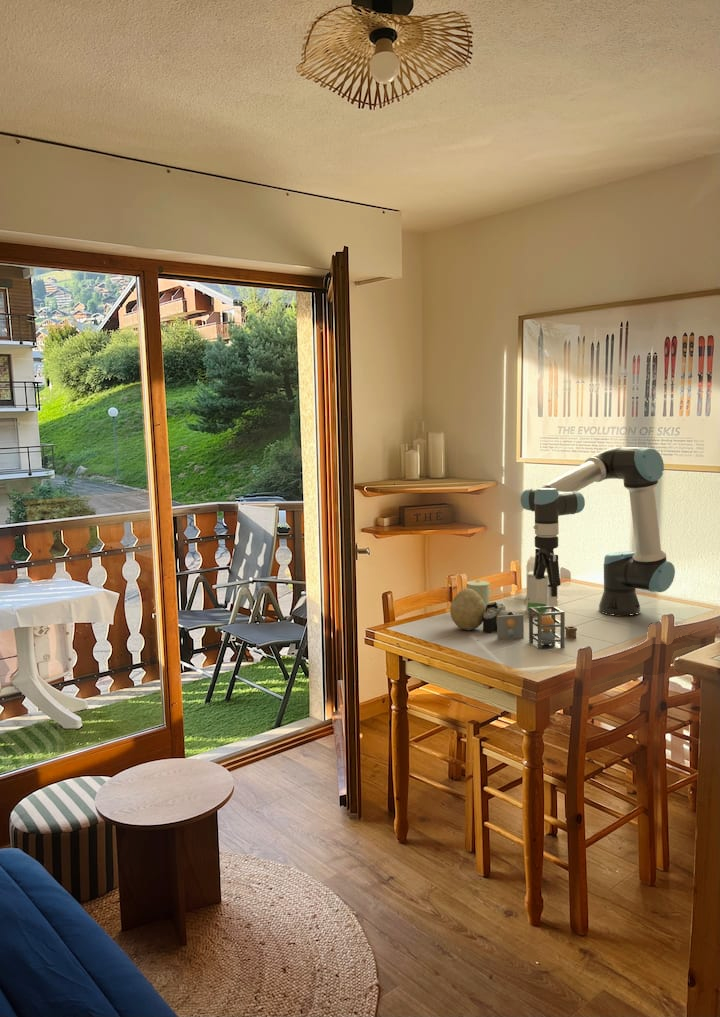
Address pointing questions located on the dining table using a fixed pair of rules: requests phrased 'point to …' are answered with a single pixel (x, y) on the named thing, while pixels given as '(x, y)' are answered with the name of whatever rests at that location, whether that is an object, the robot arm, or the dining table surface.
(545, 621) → the orange ball
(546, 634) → the gray ball
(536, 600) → the skincare box
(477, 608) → the fossilized egg
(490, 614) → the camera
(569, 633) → the pedestal
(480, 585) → the can
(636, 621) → the dining table surface
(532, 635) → the open frame box
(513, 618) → the sign
